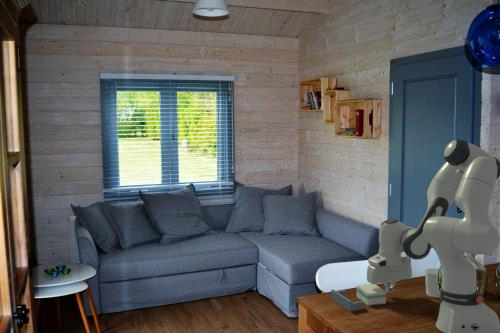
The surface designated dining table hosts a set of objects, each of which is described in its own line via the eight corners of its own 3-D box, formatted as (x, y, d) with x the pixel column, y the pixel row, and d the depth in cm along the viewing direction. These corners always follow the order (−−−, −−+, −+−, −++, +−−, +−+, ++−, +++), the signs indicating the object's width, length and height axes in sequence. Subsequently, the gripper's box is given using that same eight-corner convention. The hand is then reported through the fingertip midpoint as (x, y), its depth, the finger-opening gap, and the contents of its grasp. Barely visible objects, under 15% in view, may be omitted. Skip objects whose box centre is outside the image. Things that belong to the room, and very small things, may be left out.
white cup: (422, 291, 209) (422, 268, 208) (441, 291, 209) (441, 268, 208) (428, 298, 202) (428, 274, 200) (447, 298, 201) (448, 274, 200)
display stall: (344, 296, 205) (344, 287, 205) (364, 309, 192) (364, 299, 192) (331, 299, 203) (331, 289, 202) (349, 311, 190) (349, 301, 189)
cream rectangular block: (374, 294, 207) (374, 283, 207) (386, 303, 197) (386, 291, 197) (356, 296, 205) (356, 285, 205) (367, 306, 196) (367, 293, 195)
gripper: (405, 253, 209) (405, 285, 211) (364, 259, 202) (364, 292, 204) (415, 257, 204) (415, 289, 205) (373, 264, 196) (373, 297, 198)
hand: (389, 291), depth 204 cm, fingers closed
